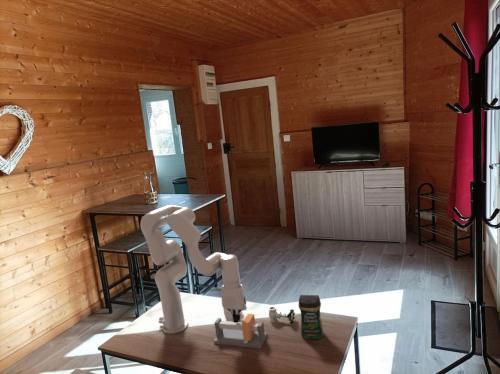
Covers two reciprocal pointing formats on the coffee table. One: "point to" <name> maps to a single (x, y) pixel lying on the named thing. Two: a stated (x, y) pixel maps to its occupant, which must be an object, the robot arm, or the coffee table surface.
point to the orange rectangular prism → (248, 327)
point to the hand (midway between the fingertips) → (236, 321)
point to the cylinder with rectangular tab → (228, 313)
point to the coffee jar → (310, 317)
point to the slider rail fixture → (238, 334)
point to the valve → (280, 315)
